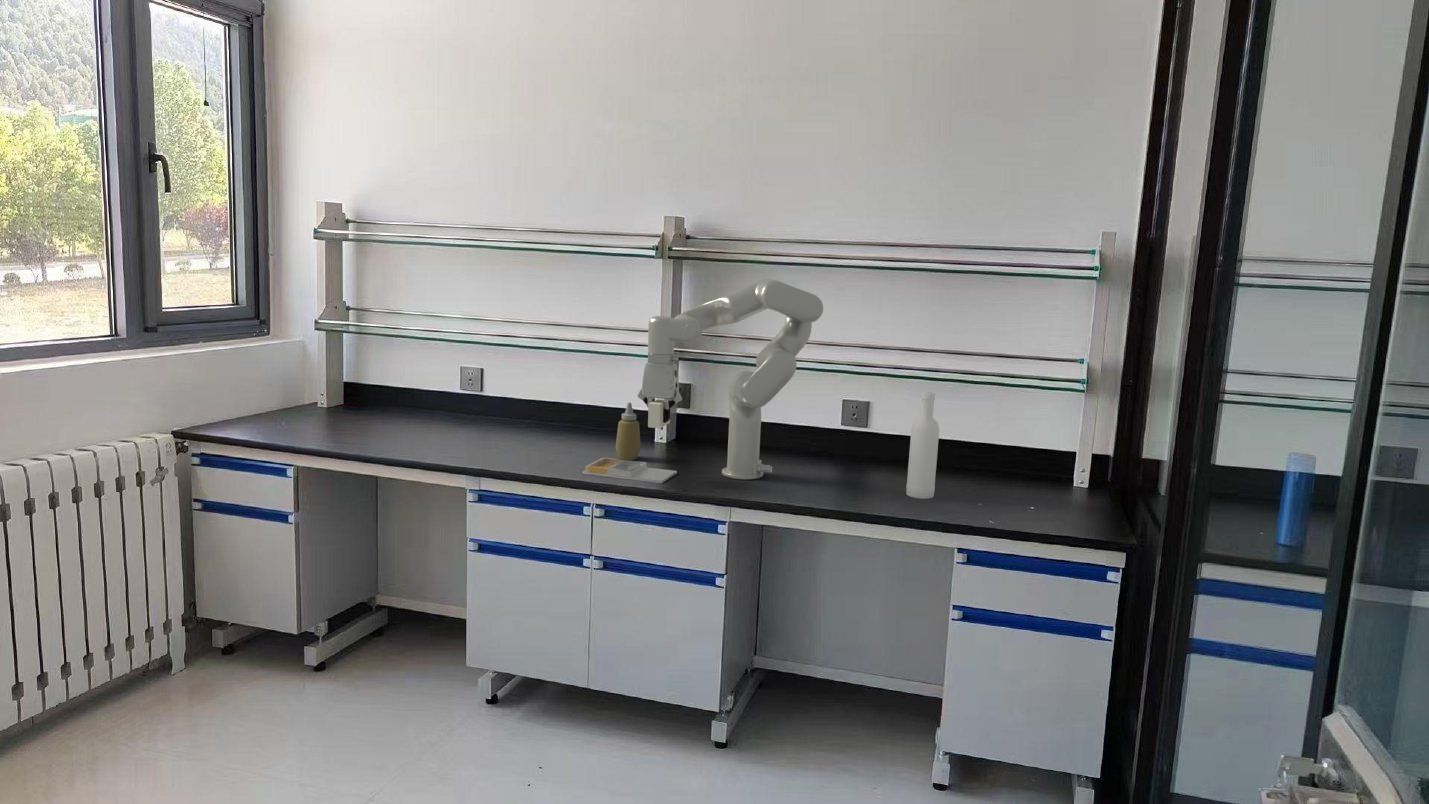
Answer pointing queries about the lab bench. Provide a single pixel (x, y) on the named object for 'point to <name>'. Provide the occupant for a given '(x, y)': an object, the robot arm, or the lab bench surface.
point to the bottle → (923, 451)
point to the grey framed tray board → (628, 470)
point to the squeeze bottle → (628, 435)
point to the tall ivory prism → (656, 414)
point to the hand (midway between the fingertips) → (659, 420)
